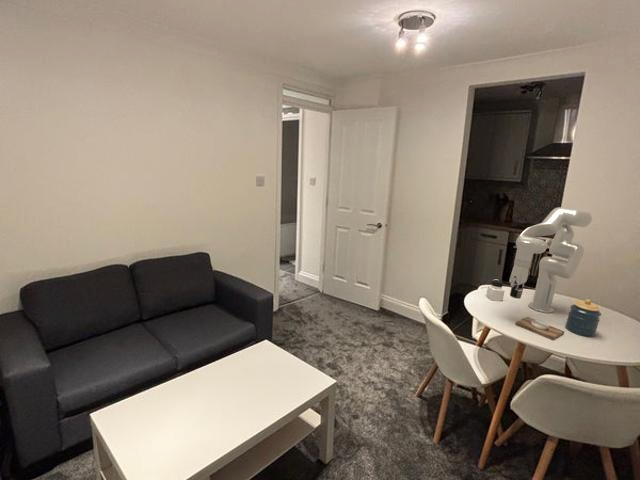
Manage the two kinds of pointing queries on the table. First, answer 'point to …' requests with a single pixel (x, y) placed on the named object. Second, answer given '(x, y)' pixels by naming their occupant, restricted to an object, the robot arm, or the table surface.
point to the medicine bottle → (495, 290)
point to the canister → (583, 318)
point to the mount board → (541, 332)
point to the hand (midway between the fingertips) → (515, 294)
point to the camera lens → (518, 293)
